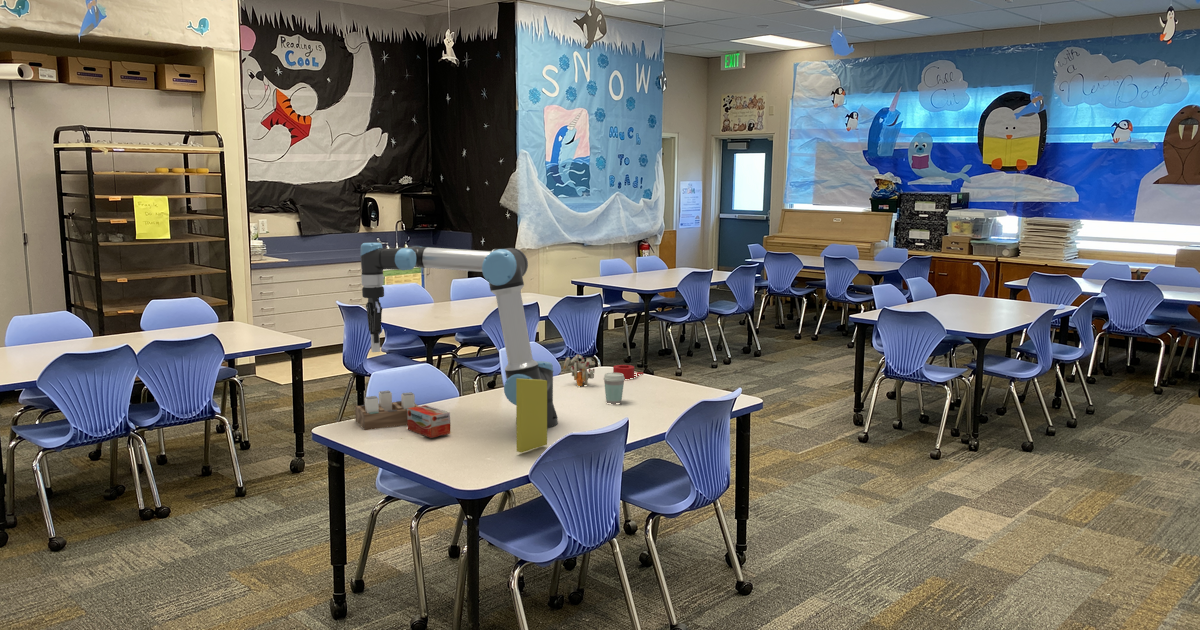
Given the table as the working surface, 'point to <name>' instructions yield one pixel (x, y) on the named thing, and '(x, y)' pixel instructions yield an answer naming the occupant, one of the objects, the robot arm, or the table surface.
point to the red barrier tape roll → (626, 371)
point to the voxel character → (582, 375)
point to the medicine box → (428, 421)
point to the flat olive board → (531, 413)
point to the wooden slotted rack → (382, 417)
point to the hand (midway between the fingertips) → (375, 351)
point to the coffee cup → (614, 387)
